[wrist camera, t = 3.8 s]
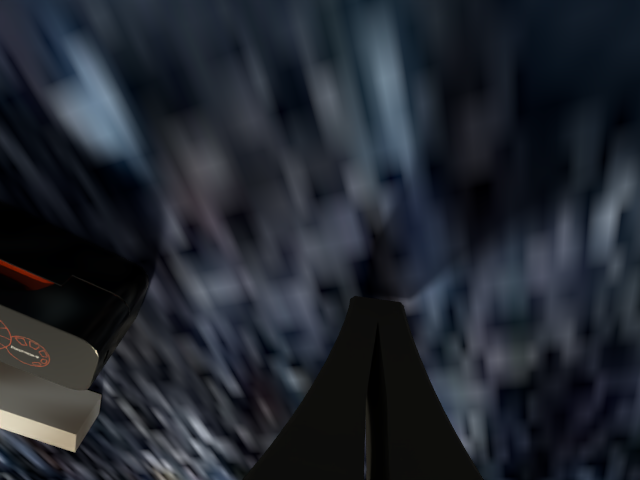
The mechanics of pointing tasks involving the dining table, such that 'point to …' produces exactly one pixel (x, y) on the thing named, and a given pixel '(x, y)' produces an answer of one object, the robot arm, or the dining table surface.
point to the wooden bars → (45, 408)
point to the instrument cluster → (62, 300)
